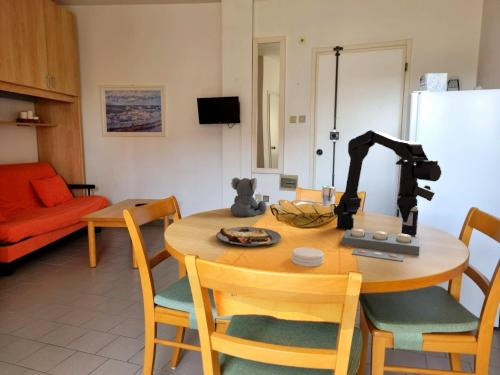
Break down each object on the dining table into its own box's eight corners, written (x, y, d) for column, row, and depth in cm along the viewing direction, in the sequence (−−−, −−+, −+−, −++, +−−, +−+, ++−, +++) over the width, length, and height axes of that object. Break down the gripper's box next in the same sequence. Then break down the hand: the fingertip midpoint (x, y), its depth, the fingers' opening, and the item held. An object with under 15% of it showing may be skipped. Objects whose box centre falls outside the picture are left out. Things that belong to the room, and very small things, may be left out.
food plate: (217, 249, 121) (218, 239, 121) (214, 232, 144) (214, 224, 144) (287, 249, 125) (287, 239, 125) (273, 232, 148) (273, 224, 148)
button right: (396, 244, 125) (397, 236, 125) (397, 241, 129) (397, 233, 129) (410, 245, 123) (410, 237, 123) (410, 242, 127) (410, 234, 127)
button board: (341, 244, 129) (341, 237, 129) (346, 236, 140) (346, 229, 140) (418, 255, 119) (419, 246, 118) (417, 245, 130) (418, 237, 129)
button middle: (373, 241, 128) (373, 233, 128) (374, 238, 132) (374, 230, 132) (386, 242, 126) (386, 234, 126) (386, 239, 130) (387, 232, 130)
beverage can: (417, 237, 140) (420, 208, 139) (402, 236, 141) (405, 207, 140) (414, 234, 146) (416, 206, 144) (399, 233, 147) (402, 205, 145)
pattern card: (351, 254, 119) (351, 253, 119) (354, 248, 125) (354, 247, 125) (402, 261, 112) (402, 260, 112) (402, 255, 119) (403, 254, 119)
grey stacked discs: (329, 263, 110) (330, 253, 110) (307, 270, 104) (307, 258, 104) (307, 254, 118) (307, 244, 118) (285, 260, 112) (285, 249, 112)
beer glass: (318, 214, 182) (320, 186, 180) (331, 214, 183) (333, 186, 180) (322, 217, 175) (324, 187, 173) (336, 217, 176) (337, 187, 174)
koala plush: (268, 213, 183) (269, 176, 181) (251, 219, 168) (252, 179, 165) (240, 209, 192) (240, 174, 189) (221, 215, 177) (222, 177, 174)
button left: (351, 238, 131) (351, 230, 131) (352, 235, 135) (353, 228, 135) (363, 240, 130) (363, 232, 129) (364, 237, 134) (364, 229, 133)
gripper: (436, 182, 111) (432, 230, 113) (432, 177, 128) (428, 218, 130) (398, 180, 116) (395, 226, 118) (399, 175, 133) (396, 215, 135)
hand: (405, 221), depth 125 cm, fingers open, 3 cm apart
